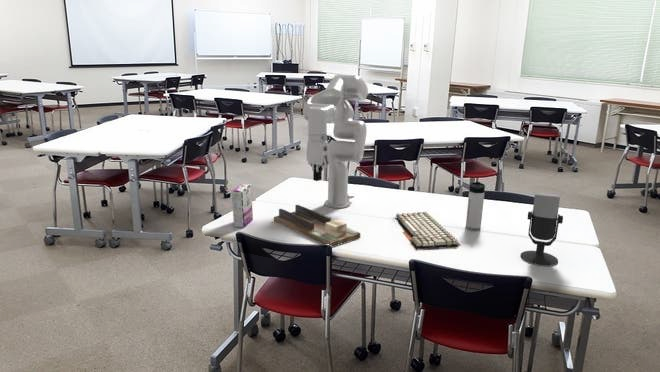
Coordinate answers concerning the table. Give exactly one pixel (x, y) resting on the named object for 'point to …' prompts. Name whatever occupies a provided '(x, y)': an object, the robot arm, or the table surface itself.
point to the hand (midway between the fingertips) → (317, 180)
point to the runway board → (312, 225)
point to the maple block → (336, 228)
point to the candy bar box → (242, 205)
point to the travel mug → (475, 206)
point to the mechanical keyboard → (425, 231)
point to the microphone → (543, 229)
